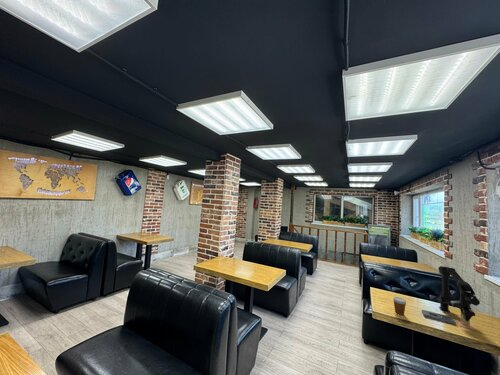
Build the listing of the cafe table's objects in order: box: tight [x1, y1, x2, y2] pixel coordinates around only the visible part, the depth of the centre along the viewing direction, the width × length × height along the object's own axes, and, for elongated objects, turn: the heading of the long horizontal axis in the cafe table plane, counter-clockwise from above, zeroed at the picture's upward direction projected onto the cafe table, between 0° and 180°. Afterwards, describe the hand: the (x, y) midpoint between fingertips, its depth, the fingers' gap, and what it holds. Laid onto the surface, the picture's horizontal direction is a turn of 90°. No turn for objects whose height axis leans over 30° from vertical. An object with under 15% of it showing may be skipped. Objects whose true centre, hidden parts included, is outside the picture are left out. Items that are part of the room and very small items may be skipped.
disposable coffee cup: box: [392, 296, 407, 316], centre depth 179 cm, size 10×10×12 cm
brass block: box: [460, 312, 471, 327], centre depth 167 cm, size 4×4×8 cm
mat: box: [454, 319, 478, 331], centre depth 166 cm, size 10×10×1 cm
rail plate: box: [421, 309, 457, 326], centre depth 175 cm, size 10×20×2 cm, turn 60°
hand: (465, 319), depth 167 cm, fingers open, 6 cm apart
